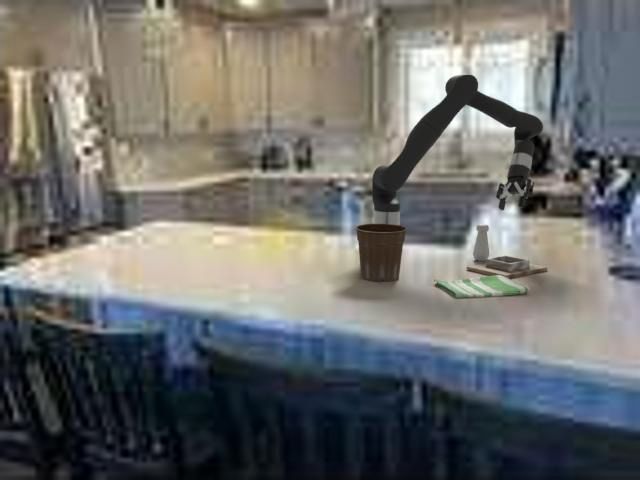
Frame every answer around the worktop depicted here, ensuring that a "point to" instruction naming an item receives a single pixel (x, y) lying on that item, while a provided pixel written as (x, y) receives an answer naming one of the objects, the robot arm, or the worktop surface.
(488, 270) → the caddy board
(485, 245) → the salt shaker
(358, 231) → the plant pot
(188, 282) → the worktop surface
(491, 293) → the dish towel
